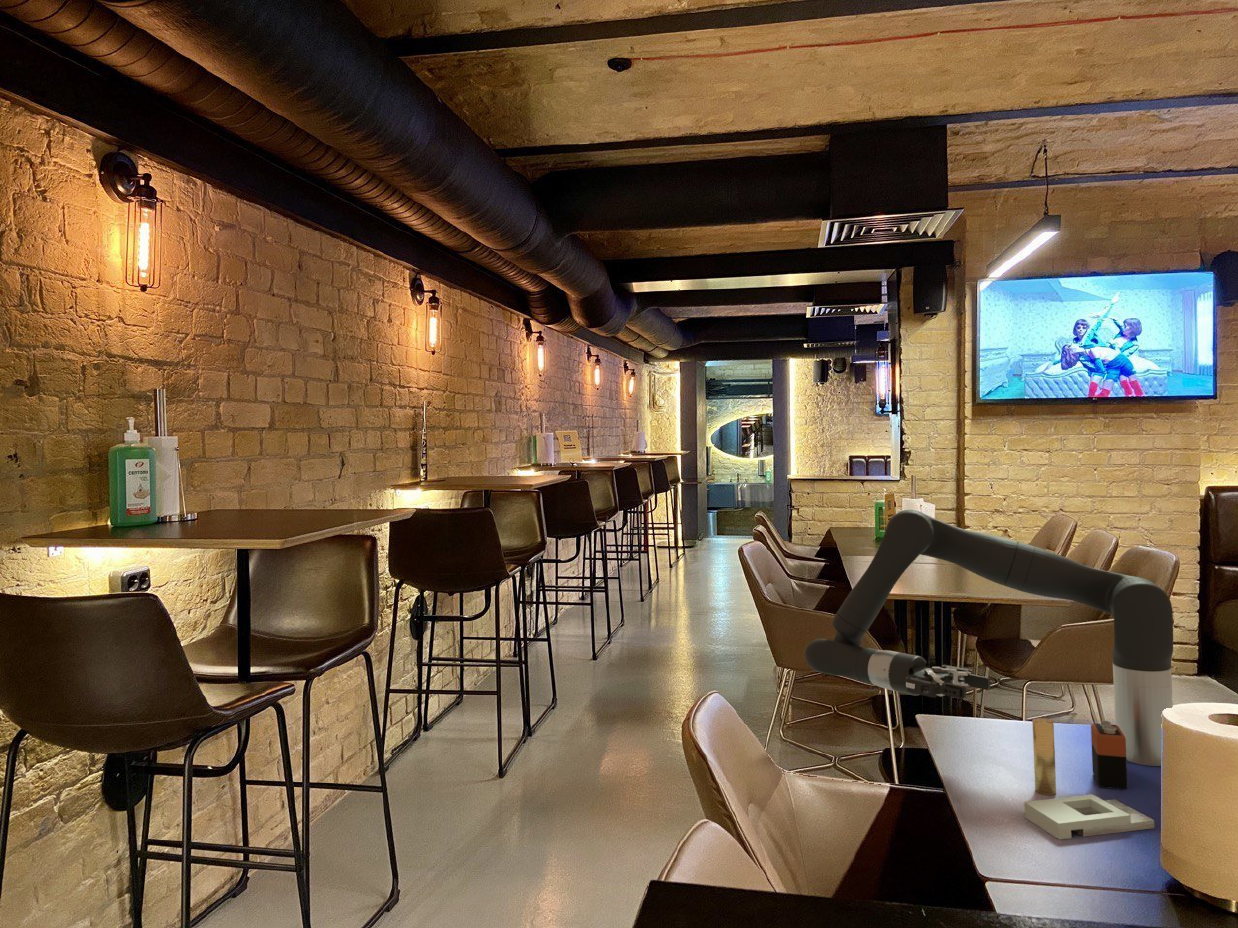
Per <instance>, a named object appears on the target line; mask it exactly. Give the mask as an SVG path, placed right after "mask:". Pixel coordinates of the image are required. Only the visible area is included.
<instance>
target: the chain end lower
mask: <svg viewBox="0 0 1238 928" xmlns="http://www.w3.org/2000/svg"><path fill="white" fill-rule="evenodd" d="M1104 801H1105V802H1107V803H1109V804H1111V805H1113V806H1115V807H1116V808H1118V809H1120V810H1122V811H1124V812H1126V813H1127V814H1129V815H1130V817H1131V823H1127V824H1119V825H1110V826H1102V827H1093V828H1085V829H1077V830H1073V831H1074V832H1075V833H1077V834H1079V836H1081V837H1091V836H1101V835H1109V834H1117V833H1124V832H1125V833H1126V832H1134V831H1140V830H1148V829H1151V830H1152V829H1155V820H1154V819H1152V818H1151V817H1149V816H1147V815H1145V814H1143V813H1141V812H1140V811H1137V810H1136V809H1135V808H1132V807H1130V806H1128V805H1126V804H1124V803H1123V802H1121V801H1119V800H1117V799H1115V798H1114V799H1105V800H1104ZM1074 809H1075V810H1076V811H1078V812H1080V813H1081V814H1083V815H1093V814H1102V813H1101V812H1100V811H1098V810H1096V809H1094V808H1093V807H1082V808H1074Z"/></svg>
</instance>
